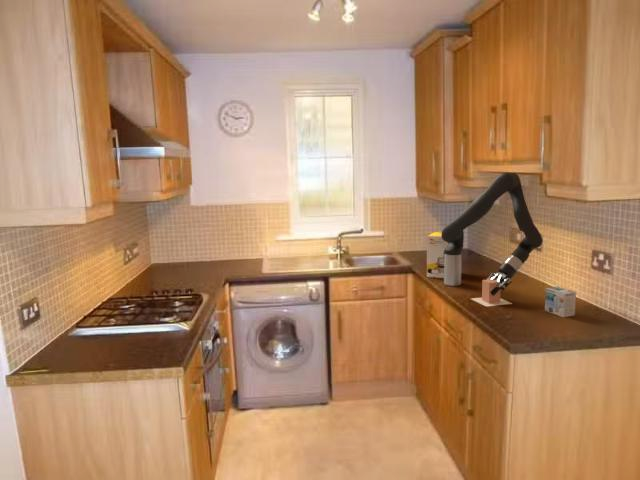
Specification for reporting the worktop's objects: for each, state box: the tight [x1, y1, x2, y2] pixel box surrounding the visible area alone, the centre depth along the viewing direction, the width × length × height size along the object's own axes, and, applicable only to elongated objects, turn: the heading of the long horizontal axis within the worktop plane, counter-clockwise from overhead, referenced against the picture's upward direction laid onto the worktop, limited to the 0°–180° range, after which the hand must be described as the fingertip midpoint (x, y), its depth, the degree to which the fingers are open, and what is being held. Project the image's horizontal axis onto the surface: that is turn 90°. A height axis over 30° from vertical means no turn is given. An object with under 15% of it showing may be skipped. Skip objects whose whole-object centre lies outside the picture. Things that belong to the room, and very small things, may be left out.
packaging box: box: [426, 231, 448, 279], centre depth 282 cm, size 16×16×25 cm
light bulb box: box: [544, 285, 577, 318], centre depth 206 cm, size 11×7×11 cm, turn 21°
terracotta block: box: [481, 279, 501, 303], centre depth 225 cm, size 6×6×10 cm
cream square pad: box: [470, 296, 513, 307], centre depth 226 cm, size 14×14×1 cm
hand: (488, 292), depth 225 cm, fingers closed on terracotta block, 6 cm apart
